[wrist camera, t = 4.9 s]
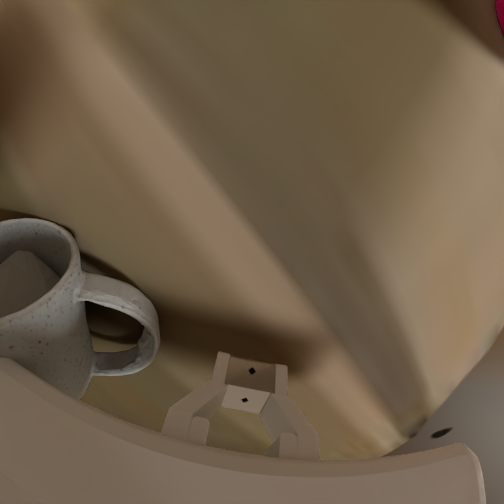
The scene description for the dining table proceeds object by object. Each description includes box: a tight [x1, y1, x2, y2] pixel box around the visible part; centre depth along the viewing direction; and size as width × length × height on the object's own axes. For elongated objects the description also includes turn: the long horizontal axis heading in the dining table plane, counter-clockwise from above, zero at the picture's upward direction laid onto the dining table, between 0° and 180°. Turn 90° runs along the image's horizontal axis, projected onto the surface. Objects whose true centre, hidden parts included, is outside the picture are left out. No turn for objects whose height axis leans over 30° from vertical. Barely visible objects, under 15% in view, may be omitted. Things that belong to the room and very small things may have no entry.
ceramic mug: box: [0, 218, 160, 400], centre depth 9 cm, size 11×8×8 cm
